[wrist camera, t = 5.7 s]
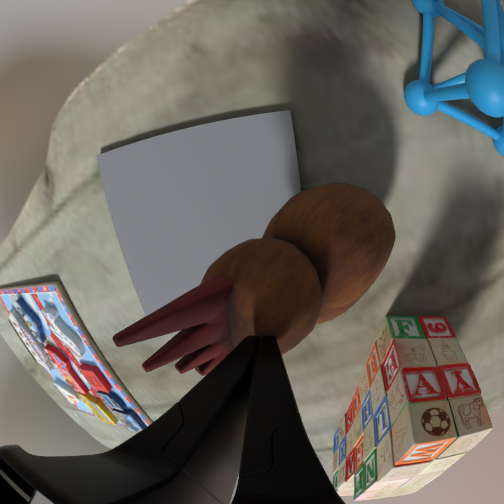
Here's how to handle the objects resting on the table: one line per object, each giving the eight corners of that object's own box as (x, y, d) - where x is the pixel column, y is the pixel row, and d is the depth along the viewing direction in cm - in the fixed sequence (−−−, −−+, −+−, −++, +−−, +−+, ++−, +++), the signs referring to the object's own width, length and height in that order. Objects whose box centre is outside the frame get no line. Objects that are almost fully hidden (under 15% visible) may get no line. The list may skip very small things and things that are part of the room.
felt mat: (290, 110, 16) (290, 110, 15) (310, 312, 22) (310, 316, 21) (100, 154, 19) (96, 155, 19) (148, 312, 25) (145, 315, 25)
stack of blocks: (376, 435, 29) (378, 513, 18) (332, 435, 30) (327, 517, 19) (445, 314, 20) (495, 429, 9) (384, 312, 21) (415, 447, 10)
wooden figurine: (345, 156, 16) (71, 249, 6) (424, 212, 13) (202, 445, 4) (307, 237, 20) (111, 353, 11) (369, 288, 18) (190, 456, 9)
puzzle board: (0, 286, 33) (-10, 294, 31) (63, 276, 27) (49, 288, 25) (81, 407, 45) (75, 415, 42) (164, 430, 39) (159, 442, 36)
